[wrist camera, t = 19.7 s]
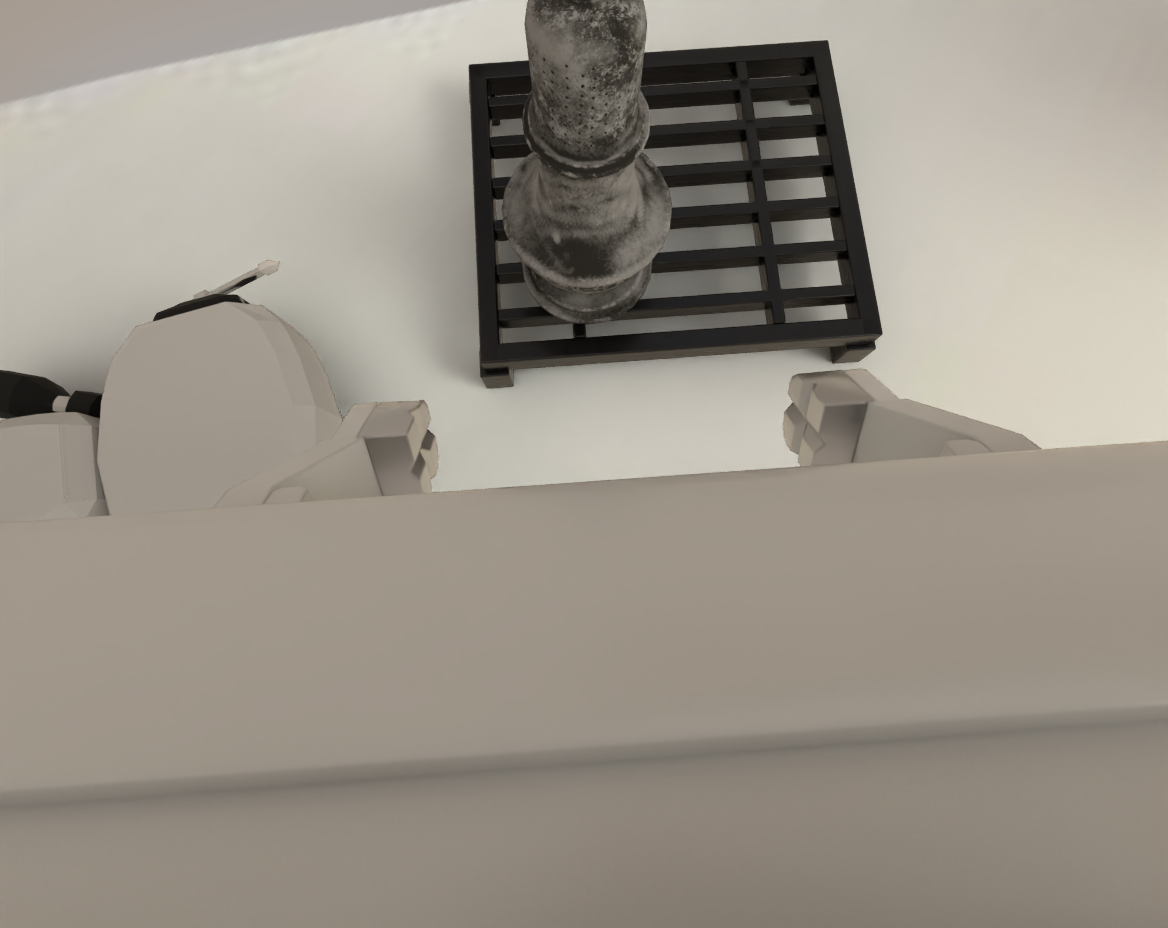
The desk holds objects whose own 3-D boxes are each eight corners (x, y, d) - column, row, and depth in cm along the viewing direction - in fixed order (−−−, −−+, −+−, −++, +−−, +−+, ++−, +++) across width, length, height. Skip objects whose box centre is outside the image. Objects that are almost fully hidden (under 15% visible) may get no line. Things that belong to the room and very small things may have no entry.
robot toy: (43, 659, 23) (388, 571, 23) (-97, 682, 19) (329, 574, 18) (27, 385, 25) (341, 300, 25) (-100, 347, 21) (278, 243, 20)
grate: (809, 83, 27) (832, 35, 25) (859, 362, 24) (889, 338, 22) (474, 106, 27) (463, 60, 25) (486, 389, 24) (475, 368, 22)
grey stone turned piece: (612, 176, 23) (636, -222, 12) (686, 287, 22) (794, -24, 11) (489, 240, 23) (385, -110, 11) (559, 356, 22) (525, 109, 10)
